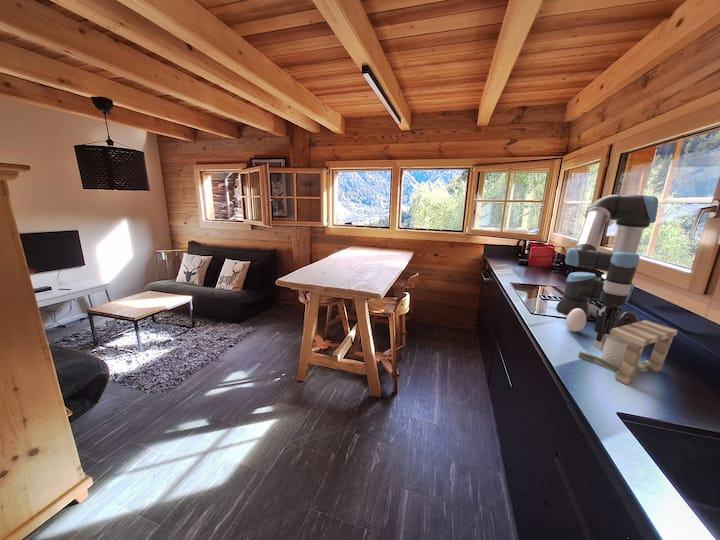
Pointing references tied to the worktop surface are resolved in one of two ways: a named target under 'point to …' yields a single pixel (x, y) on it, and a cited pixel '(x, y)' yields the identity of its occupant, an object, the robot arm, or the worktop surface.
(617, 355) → the white cup
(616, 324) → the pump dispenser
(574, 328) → the egg
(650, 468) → the worktop surface
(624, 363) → the wooden slatted bench
